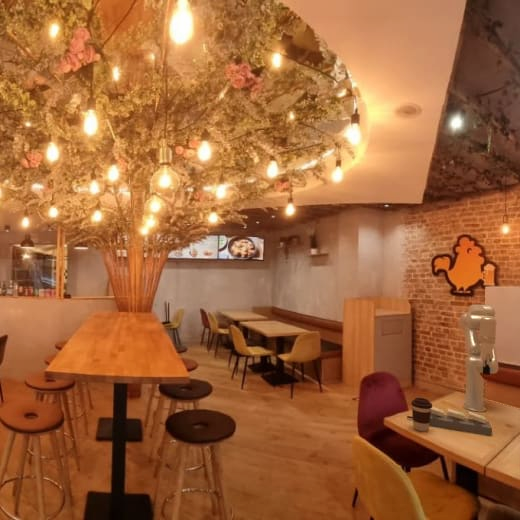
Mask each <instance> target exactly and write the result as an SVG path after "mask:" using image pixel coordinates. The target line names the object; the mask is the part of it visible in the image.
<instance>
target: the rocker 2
mask: <svg viewBox="0 0 520 520" xmlns="http://www.w3.org/2000/svg"><path fill="white" fill-rule="evenodd" d="M467 411H468V413H467V418H468V419H474V420H476V421H479V422H482V423H484V424H486V421H487V418H486V416H484V415H481V414H478V413H474V412H473V411H471V410H467Z"/></svg>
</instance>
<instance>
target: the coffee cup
mask: <svg viewBox="0 0 520 520" xmlns="http://www.w3.org/2000/svg"><path fill="white" fill-rule="evenodd" d="M411 405H412V407H411V408H412V409H411V413H412V417H413V419H412V420H413V421H412V427H413V429H414V430H416V431H418V432H428V431H429V427H430V426H429V423H430V415H431V408H432V407H433V404H432V402H430V400H429V399H427V398H423V397H416V398H414V399H413V400H411Z"/></svg>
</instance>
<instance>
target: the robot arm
mask: <svg viewBox="0 0 520 520" xmlns="http://www.w3.org/2000/svg"><path fill="white" fill-rule="evenodd" d="M495 317H496V310H495V308H494V307H493V306H492V305H489V304H471V305H470V306H469V307H468V308H467V312H466V313H462V314H461V315H460V317H459V324H460V328H461V331H462V332H463V335H464V341H465V349H466V353H467V354H468V356H467V357H466V358H465V360H464V363H465V371H466V372H465V375H466V377H465V383H466V384H465V403H462V408H463V409H465V410H467V411H470V412H477V413H478V412H479V413H483V412H486V411H487V408H486V407H485V406H484V394H485V393H484V392H485V390H484V389H485V388H484V387H485V381H484V380H485V379H484V378H483V376H482V375H481V374H483V375H487V376H489V375H490V374H491V375H493V374H496V373H498V371H499V363H498V362H499V361H498V356H497V355H498V354H497V350H496V347H495V345H496V336H497V335H496V331H497V319H496V318H495ZM476 329H477V330H476ZM478 329H479V332H478ZM480 373H481V374H480Z"/></svg>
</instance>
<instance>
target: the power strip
mask: <svg viewBox="0 0 520 520" xmlns="http://www.w3.org/2000/svg"><path fill="white" fill-rule="evenodd" d="M406 418H407V419H410V420H411V419H412V420H413V416H411V415H407V416H406ZM429 427H435V428H439V429H445V430H452V431H456V432H457V431H458V432H464V433H469V434H476V435H480V436H487V437H492V436H493V428H492V425H491V424H490V422H489V421H487V420H486V424H484V423H482V422H479V421H476V420H474V419H471V418H469V417H465V418H464V420H463V419H459V418H456V417H453V416H449V415H447V414H443V417H441V416H439V415H436V414H433V413H431V415H430V423H429Z"/></svg>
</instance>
